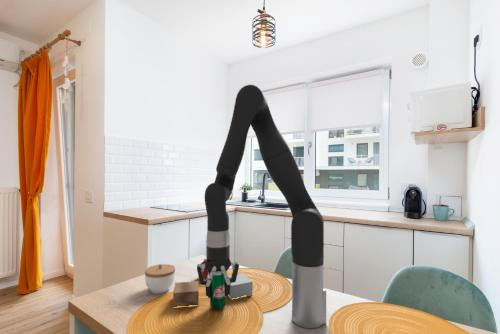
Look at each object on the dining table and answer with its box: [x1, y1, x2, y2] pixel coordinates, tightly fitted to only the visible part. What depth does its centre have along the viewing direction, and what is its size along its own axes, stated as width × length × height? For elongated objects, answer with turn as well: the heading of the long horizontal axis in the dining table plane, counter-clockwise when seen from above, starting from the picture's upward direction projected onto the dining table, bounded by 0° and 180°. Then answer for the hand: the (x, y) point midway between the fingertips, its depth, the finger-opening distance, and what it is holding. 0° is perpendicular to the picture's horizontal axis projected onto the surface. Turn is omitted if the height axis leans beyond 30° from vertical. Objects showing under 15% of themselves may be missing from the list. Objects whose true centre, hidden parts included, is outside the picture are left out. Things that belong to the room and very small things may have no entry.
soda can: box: [209, 270, 227, 311], centre depth 85 cm, size 5×5×12 cm
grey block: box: [228, 273, 253, 300], centre depth 96 cm, size 8×8×5 cm
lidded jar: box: [144, 263, 176, 295], centre depth 98 cm, size 11×11×9 cm
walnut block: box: [172, 280, 200, 308], centre depth 89 cm, size 8×8×5 cm
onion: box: [200, 258, 209, 279], centre depth 109 cm, size 6×6×8 cm
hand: (217, 295), depth 85 cm, fingers closed on soda can, 5 cm apart
